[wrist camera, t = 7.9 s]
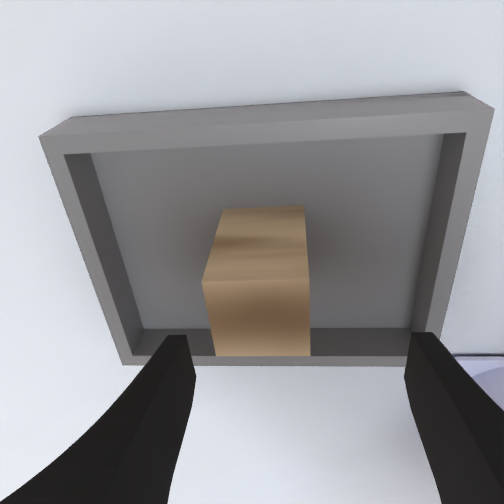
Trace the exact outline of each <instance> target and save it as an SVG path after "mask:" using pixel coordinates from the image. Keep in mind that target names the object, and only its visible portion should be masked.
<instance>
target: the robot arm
mask: <svg viewBox="0 0 504 504" xmlns="http://www.w3.org/2000/svg"><path fill="white" fill-rule="evenodd" d="M404 379H405V384H406V389H407V394H408V398H409V403H410V407H411V411H412V414H413V417H414V420H415V423H416V426H417V429H418V432H419V435H420V437H421V440H422V443H423V446H424V449H425V452H426V455H427V458H428V461H429V464H430V467H431V470H432V472H433V475H434V478H435V481H436V485H437V488H438V491H439V495H440V498H441V503H442V504H504V357H467V356H459V357H453V356H452V355H451V353H450V352H449V351H448V350H447V349H446V347H445V346H444V345H443V344H442V343H441V341H440V340H439V339H438V338H437V337H436V335H435V334H434V333H433V332H411V338H410V344H409V350H408V356H407V362H406V368H405V374H404ZM195 382H196V373H195V369H194V365H193V361H192V357H191V353H190V349H189V345H188V340H187V336H186V335H168V336H167V337H166V338H165V339H164V341H163V342H162V343H161V345H160V346H159V347H158V349H157V350H156V351H155V353H154V354H153V355H152V357H151V358H150V359H149V361H148V362H147V363H146V365H145V366H144V367H143V369H142V370H141V371H140V372H139V374H138V375H137V376H136V377H135V378H134V380H133V381H132V382H131V383H130V385H129V386H128V387H127V388H126V390H125V391H124V392H123V393H122V394H121V395H120V396H119V398H118V399H117V400H116V401H115V402H114V403H113V404H112V405H111V407H110V408H109V409H108V410H107V411H106V412H105V413H104V414H103V415H102V416H101V417H100V418H99V419H98V420H97V421H96V422H95V424H94V425H93V426H91V427H90V428H89V429H88V430H87V431H86V432H85V433H84V434H83V435H82V436H81V437H80V438H79V439H78V440H77V441H76V442H75V443H74V444H72V445H71V446H70V447H69V448H68V449H67V450H66V451H65V452H64V453H62V454H61V455H60V456H59V457H58V458H57V459H56V460H54V461H53V462H52V463H51V464H50V465H48V466H47V467H46V468H45V469H43V470H42V471H41V472H39V473H38V474H37V475H36V476H34V477H33V478H32V479H31V480H29V481H28V482H27V483H25V484H24V485H23V486H21V487H20V488H19V489H17V490H16V491H15V492H13V493H12V494H11V495H9V496H8V497H6V498H5V499H3V500H2V501H0V504H167V502H168V497H169V491H170V486H171V482H172V478H173V473H174V470H175V466H176V462H177V459H178V455H179V452H180V448H181V444H182V441H183V437H184V433H185V430H186V426H187V422H188V419H189V415H190V411H191V407H192V402H193V396H194V389H195Z"/></svg>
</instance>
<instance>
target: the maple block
mask: <svg viewBox="0 0 504 504" xmlns="http://www.w3.org/2000/svg"><path fill="white" fill-rule="evenodd" d="M201 282H202V287H203V292H204V298H205V303H206V308H207V313H208V318H209V323H210V328H211V333H212V338H213V343H214V348H215V353H216V356H311V355H310V291H309V268H308V254H307V241H306V227H305V213H304V205H298V206H276V207H255V208H234V209H223V211H222V215H221V218H220V221H219V225H218V228H217V231H216V235H215V238H214V241H213V245H212V248H211V251H210V255H209V258H208V261H207V265H206V268H205V271H204V275H203V278H202V281H201Z"/></svg>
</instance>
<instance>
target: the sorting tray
mask: <svg viewBox="0 0 504 504" xmlns="http://www.w3.org/2000/svg"><path fill="white" fill-rule="evenodd" d="M494 110H495V109H494V108H492V107H490V106H489V105H487V104H485V103H483V102H482V101H480V100H478V99H476V98H475V97H473V96H471V95H469V94H468V93H466V92H449V93H434V94H419V95H403V96H388V97H373V98H357V99H342V100H327V101H311V102H296V103H281V104H265V105H250V106H235V107H219V108H204V109H189V110H173V111H158V112H142V113H127V114H112V115H96V116H81V117H71V118H69V119H67V120H66V121H64V122H62V123H61V124H59V125H57V126H55V127H54V128H52V129H50V130H48V131H47V132H45V133H43V134H42V135H40V136H38V137H39V140H40V142H41V145H42V148H43V150H44V153H45V156H46V159H47V161H48V164H49V167H50V169H51V172H52V175H53V178H54V180H55V183H56V186H57V188H58V191H59V194H60V197H61V199H62V202H63V205H64V207H65V210H66V213H67V216H68V218H69V221H70V224H71V226H72V229H73V232H74V235H75V237H76V240H77V243H78V245H79V248H80V251H81V254H82V256H83V259H84V262H85V264H86V267H87V270H88V273H89V275H90V278H91V281H92V283H93V286H94V289H95V292H96V294H97V297H98V300H99V302H100V305H101V308H102V311H103V313H104V316H105V319H106V321H107V324H108V327H109V330H110V332H111V335H112V338H113V340H114V343H115V346H116V349H117V351H118V354H119V357H120V359H121V362H122V365H146V363H147V362H148V361H149V359H150V358H151V357H152V355H153V354H154V353H155V351H156V350H157V349H158V347H159V346H160V345H161V343H162V342H163V341H164V339H165V338H166V337H167V336H168V335H186V336H187V340H188V345H189V349H190V353H191V357H192V361H193V365H194V366H396V367H406V362H407V356H408V350H409V344H410V338H411V332H433V333H434V334H435V335H436V337H437V338H438V339H439V340H440V336H441V332H442V327H443V323H444V319H445V315H446V311H447V306H448V302H449V298H450V294H451V290H452V285H453V281H454V277H455V273H456V269H457V265H458V260H459V256H460V252H461V248H462V244H463V239H464V235H465V231H466V227H467V223H468V218H469V214H470V210H471V206H472V202H473V197H474V193H475V189H476V185H477V181H478V177H479V172H480V168H481V164H482V160H483V156H484V151H485V147H486V143H487V139H488V135H489V130H490V126H491V122H492V118H493V114H494ZM298 205H304V213H305V227H306V241H307V254H308V268H309V291H310V355H311V356H216V353H215V348H214V343H213V338H212V333H211V328H210V323H209V318H208V313H207V308H206V303H205V298H204V292H203V287H202V282H201V281H202V278H203V275H204V271H205V268H206V265H207V261H208V258H209V255H210V251H211V248H212V245H213V241H214V238H215V235H216V231H217V228H218V225H219V221H220V218H221V215H222V211H223V209H234V208H255V207H276V206H298Z"/></svg>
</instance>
